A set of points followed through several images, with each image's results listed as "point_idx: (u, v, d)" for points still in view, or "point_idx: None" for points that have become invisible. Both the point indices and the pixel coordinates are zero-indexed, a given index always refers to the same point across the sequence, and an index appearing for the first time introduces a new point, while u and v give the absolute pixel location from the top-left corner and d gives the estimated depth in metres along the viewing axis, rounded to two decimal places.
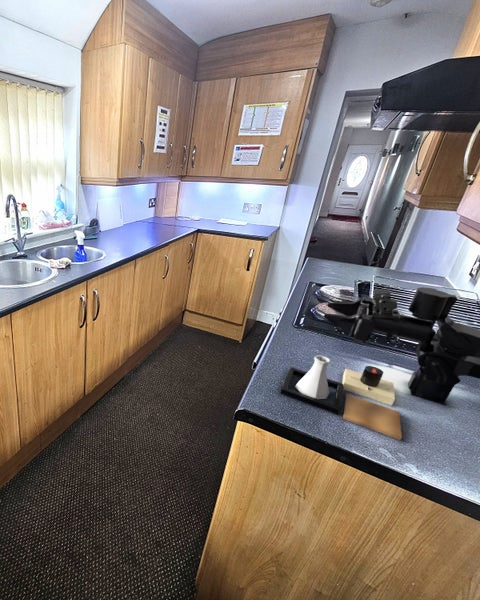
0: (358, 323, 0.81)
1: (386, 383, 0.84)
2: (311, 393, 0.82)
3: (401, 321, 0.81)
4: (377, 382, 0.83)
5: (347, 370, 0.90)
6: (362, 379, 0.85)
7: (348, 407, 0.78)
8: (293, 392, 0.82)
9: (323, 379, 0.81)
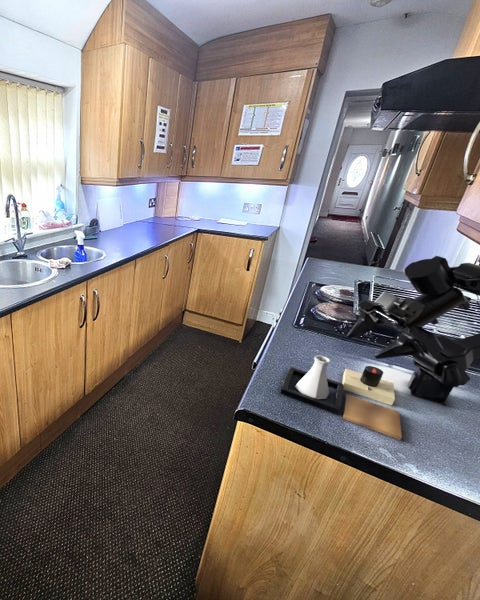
0: (417, 343, 0.69)
1: (386, 383, 0.84)
2: (311, 393, 0.82)
3: (430, 306, 0.72)
4: (377, 382, 0.83)
5: (347, 370, 0.90)
6: (362, 379, 0.85)
7: (348, 407, 0.78)
8: (293, 392, 0.82)
9: (323, 379, 0.81)
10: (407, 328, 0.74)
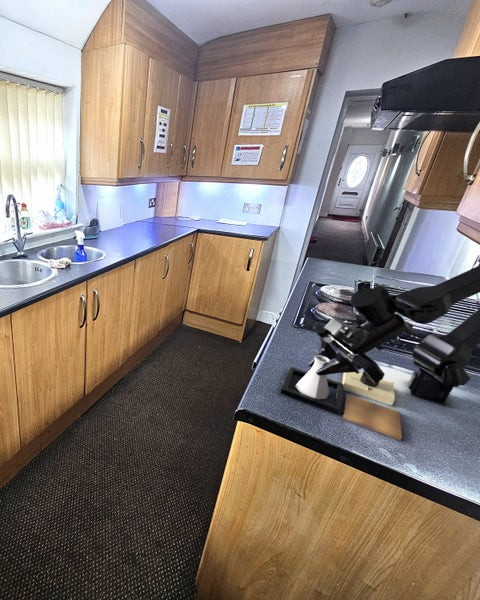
0: (351, 362, 0.75)
1: (386, 383, 0.84)
2: (311, 393, 0.82)
3: (374, 333, 0.75)
4: (377, 382, 0.83)
5: None
6: (362, 379, 0.85)
7: (348, 407, 0.78)
8: (293, 392, 0.82)
9: (323, 379, 0.81)
10: (354, 353, 0.77)
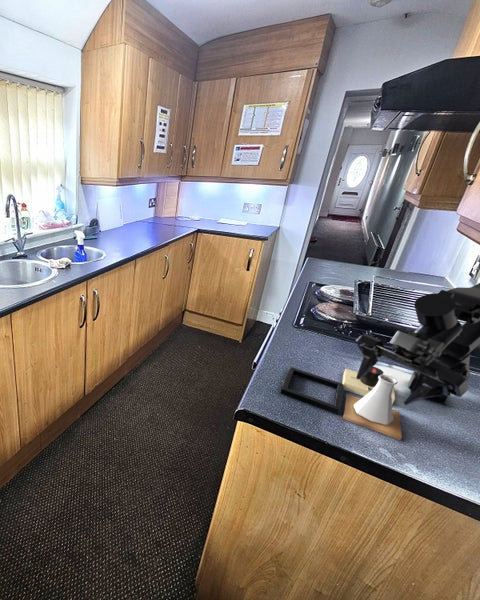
0: (448, 386, 0.65)
1: None
2: (381, 419, 0.73)
3: (439, 340, 0.69)
4: (377, 382, 0.83)
5: (347, 370, 0.90)
6: (362, 379, 0.85)
7: (348, 407, 0.78)
8: (293, 392, 0.82)
9: (390, 400, 0.73)
10: (423, 366, 0.70)
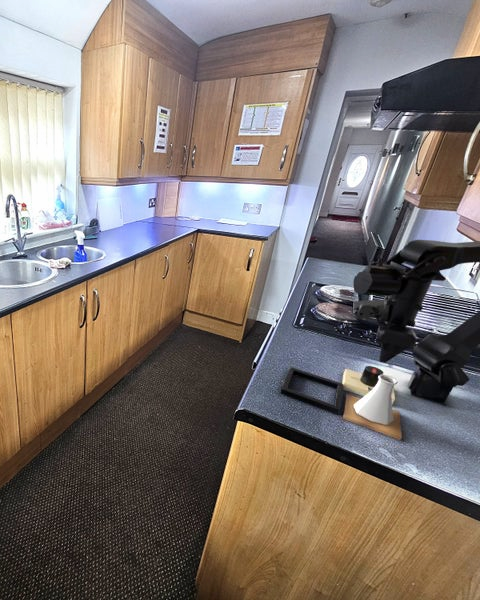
0: None
1: None
2: (381, 419, 0.73)
3: (394, 298, 0.75)
4: (377, 382, 0.83)
5: (347, 370, 0.90)
6: (362, 379, 0.85)
7: (348, 407, 0.78)
8: (293, 392, 0.82)
9: (390, 400, 0.73)
10: (393, 325, 0.76)
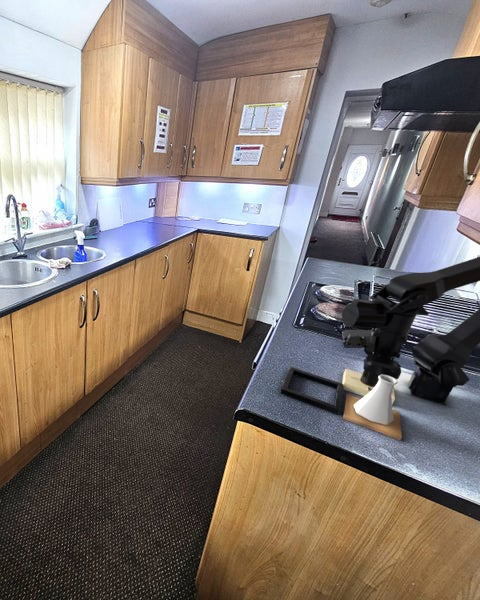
0: None
1: None
2: (381, 419, 0.73)
3: (380, 330, 0.78)
4: None
5: (347, 370, 0.90)
6: (362, 379, 0.85)
7: (348, 407, 0.78)
8: (293, 392, 0.82)
9: (390, 400, 0.73)
10: (379, 355, 0.79)
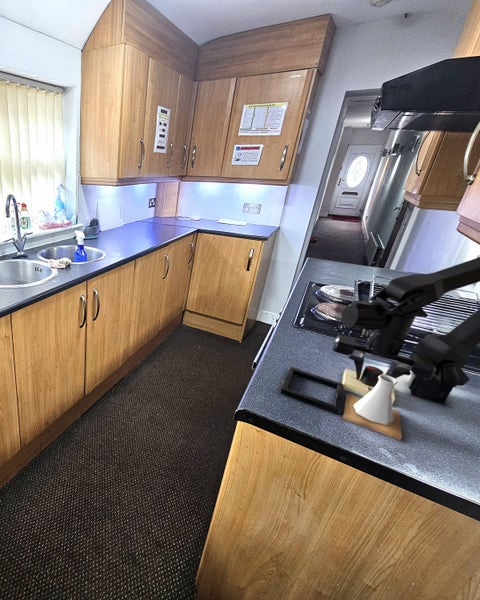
0: None
1: None
2: (381, 419, 0.73)
3: None
4: (364, 379, 0.84)
5: (347, 370, 0.90)
6: None
7: (348, 407, 0.78)
8: (293, 392, 0.82)
9: (390, 400, 0.73)
10: None
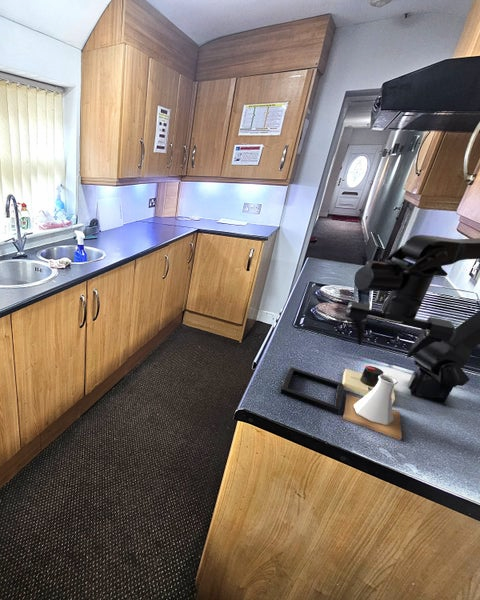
0: None
1: None
2: (381, 419, 0.73)
3: None
4: (364, 379, 0.84)
5: (347, 370, 0.90)
6: None
7: (348, 407, 0.78)
8: (293, 392, 0.82)
9: (390, 400, 0.73)
10: None
